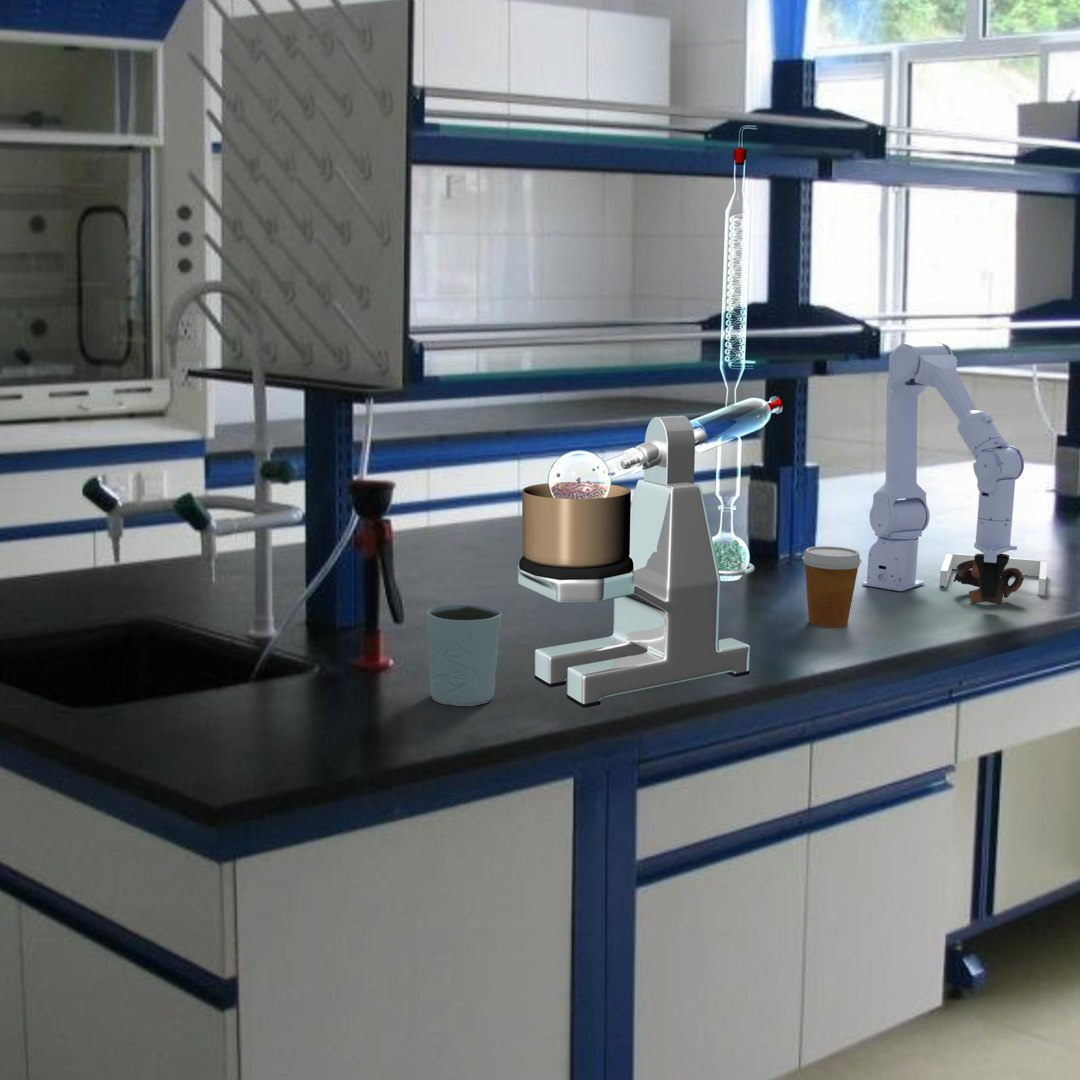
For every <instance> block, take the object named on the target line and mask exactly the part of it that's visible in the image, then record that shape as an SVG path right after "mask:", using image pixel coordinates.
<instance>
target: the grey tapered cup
mask: <svg viewBox="0 0 1080 1080" xmlns="http://www.w3.org/2000/svg"><path fill="white" fill-rule="evenodd" d="M502 614H503V613H502V611H500V610H499V609H496V608H493V607H490V606H489V607H488V606H484V605H477V604H449V605H448V604H446V605H439V606H435V607H431V608H429V609H428V610H427V611H426V615H425V616H426V626H427V634H428V636H427V639H428V643H429V644H428V662H429V663H428V666H429V667H428V668H429V683H430V684H429V688H430V691H429V692H430V697H431V696H432V697H433V698H434V699H437V700H440V701H444V702H449V703H474V702H481V701H486V700H489V699H491V698H492V697H493V696H495V685H496V677H495V676H496V670H497V664H498V663H497V660H498V654H499V653H498V648H499V636H500V631H501V625H502V623H501V622H502V616H503V615H502ZM493 698H494V697H493Z"/></svg>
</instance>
